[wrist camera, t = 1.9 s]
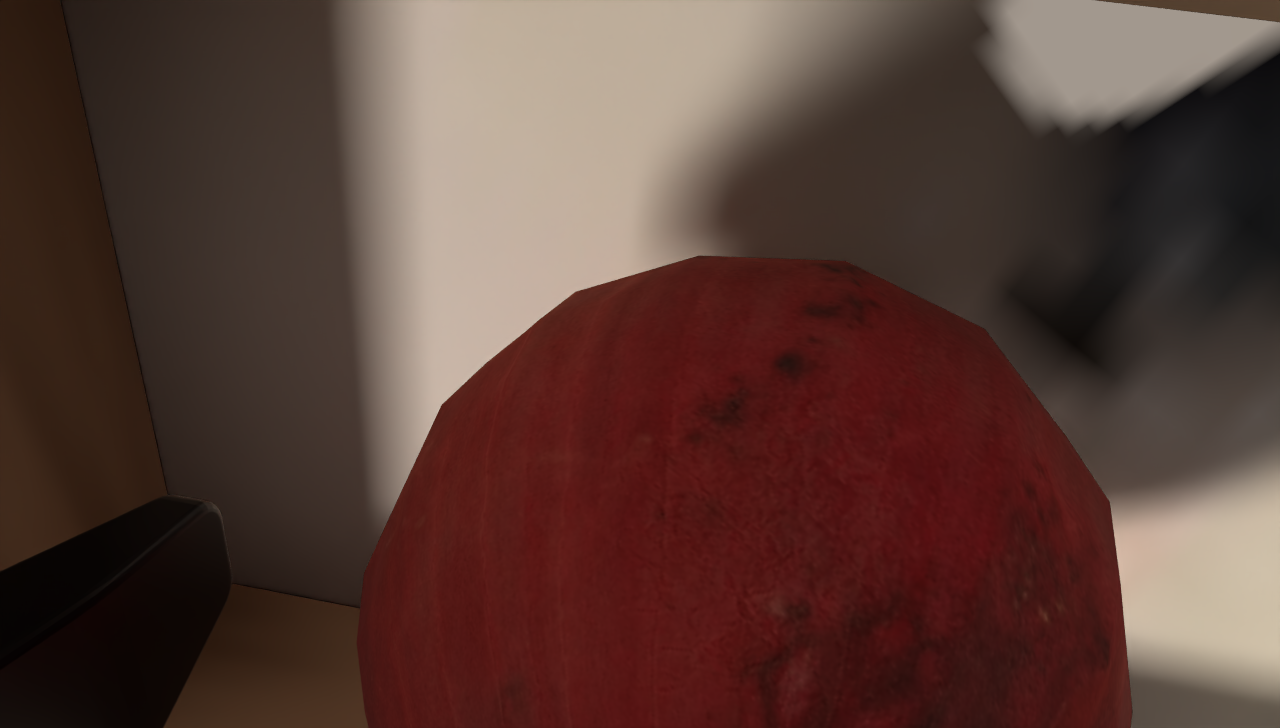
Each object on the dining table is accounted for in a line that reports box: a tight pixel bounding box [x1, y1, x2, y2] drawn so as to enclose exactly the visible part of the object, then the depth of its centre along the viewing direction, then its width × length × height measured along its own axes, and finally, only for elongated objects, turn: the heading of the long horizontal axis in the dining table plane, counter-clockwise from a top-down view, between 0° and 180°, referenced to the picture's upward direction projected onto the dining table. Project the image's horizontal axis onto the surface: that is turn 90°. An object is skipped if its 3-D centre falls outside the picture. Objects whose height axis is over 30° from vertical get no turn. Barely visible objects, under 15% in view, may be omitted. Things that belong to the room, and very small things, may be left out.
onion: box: [357, 256, 1132, 728], centre depth 8 cm, size 6×6×8 cm
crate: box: [0, 0, 1280, 728], centre depth 10 cm, size 14×12×4 cm
